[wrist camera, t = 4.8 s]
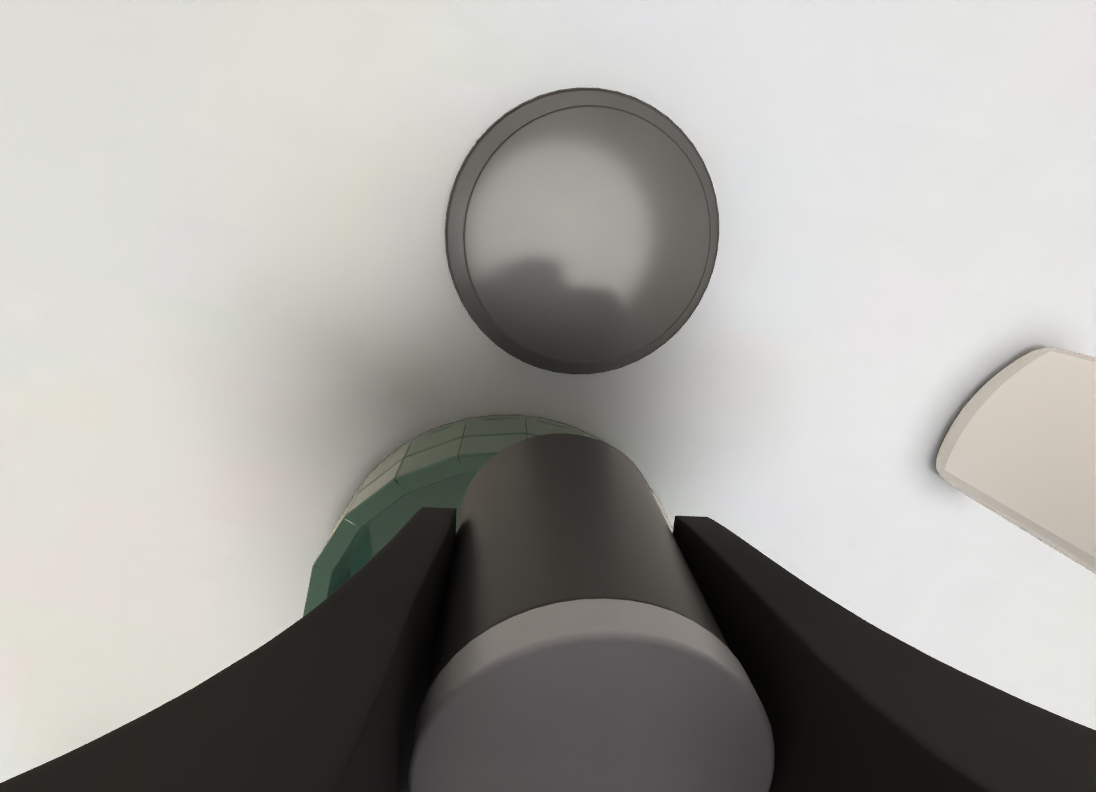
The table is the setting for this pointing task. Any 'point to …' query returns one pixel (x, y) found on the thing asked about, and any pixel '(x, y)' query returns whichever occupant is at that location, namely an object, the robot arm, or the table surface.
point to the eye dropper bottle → (1032, 449)
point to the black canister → (580, 643)
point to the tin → (417, 490)
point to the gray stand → (582, 230)
